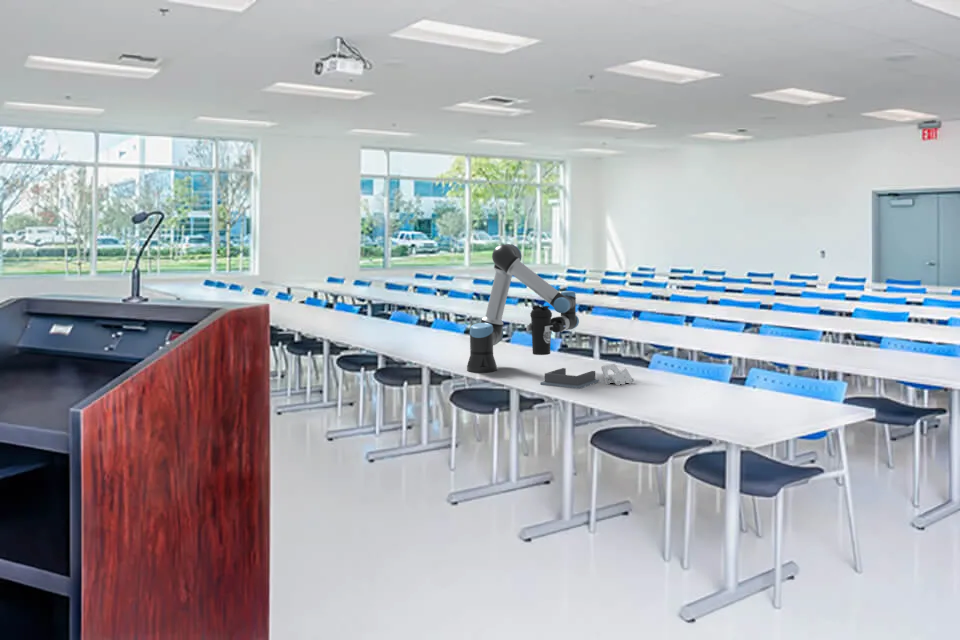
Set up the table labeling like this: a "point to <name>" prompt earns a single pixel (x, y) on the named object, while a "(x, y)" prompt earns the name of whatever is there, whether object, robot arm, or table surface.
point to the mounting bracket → (616, 375)
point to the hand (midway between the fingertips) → (536, 328)
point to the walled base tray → (569, 379)
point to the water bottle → (540, 330)
